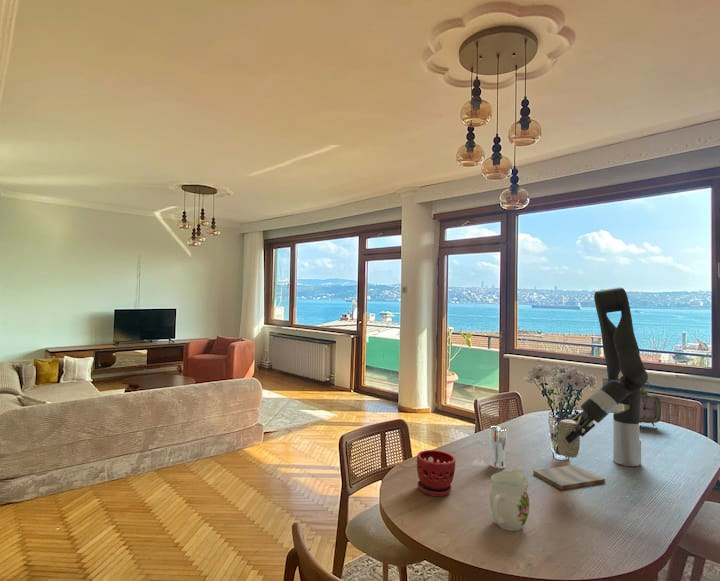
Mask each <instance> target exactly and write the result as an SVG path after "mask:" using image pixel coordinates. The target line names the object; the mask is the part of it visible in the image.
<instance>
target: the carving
mask: <svg viewBox="0 0 720 581" xmlns="http://www.w3.org/2000/svg"><path fill="white" fill-rule="evenodd" d="M575 425H576V421H573V420H569V418H567V419H561V420H559V422H558V430H557V432H558V433H557V434H558V436H557V450H558V452H559V454H560V455H562V456H565V457H567V458H577V457H578V455H579V451H580V447H581V446H580V445H581V443H580V442H581V436H578V437H577V438H576V439H574V440H573V441H572V442H571V443H569V442H568V441H567V440H566V439H565V437H566V436H567V435H568V434H570V433H571V432H572V431H573V430H574V428H575V427H576V426H575ZM573 432H574V431H573Z"/></svg>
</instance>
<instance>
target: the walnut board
mask: <svg viewBox="0 0 720 581" xmlns="http://www.w3.org/2000/svg"><path fill="white" fill-rule="evenodd" d="M532 471H533V475H534V476H535V475H536V477H537V476H538V477H537V478H539V477H540V478H539V479H542V480H543V481H544V480H545V481H544V482H546V481H547V482H546V483H547V484H549V485H552V486H553V485H554V487H556V489H558V490H561V491H563V490H569V489H577V488H582V487H583V488H584V487H590V486H596V485H597V486H598V485H601V484H606V479H605V478H603V477H601V476H600V475H597V474H596V473H593V472H591V471H589V470H586V469H584V468H583V467H580V466H579V465H578V466H577V465H576V464H572V465H564V466H558V467H549V468H542V469H534V470H532Z"/></svg>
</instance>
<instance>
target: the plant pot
mask: <svg viewBox="0 0 720 581" xmlns="http://www.w3.org/2000/svg"><path fill="white" fill-rule="evenodd" d="M429 458H432V459H433V461H429ZM416 471H417V476H418V479H419V480H418V482H417V488H418V489H419V491H421V492H422V493H424V494H426V495H428V496H431V497H432V496H433V497H443V496H447V495H448V494H449V493H450V492H452V482H453V479H454V476H455V471H456V458H455V457H454V456H453V455H452V454H450V453H448V452H445V451H442V450H441V451H440V450H434V449H429V450H422V451H419V452H418V453H417V456H416Z"/></svg>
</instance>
